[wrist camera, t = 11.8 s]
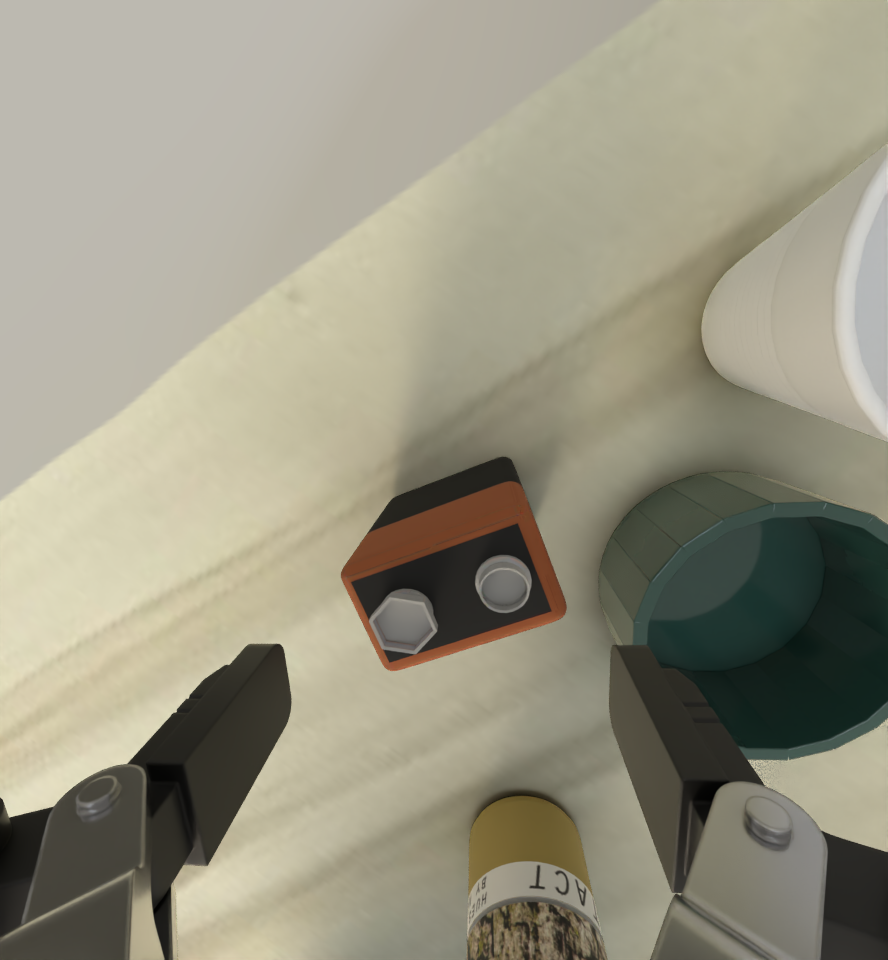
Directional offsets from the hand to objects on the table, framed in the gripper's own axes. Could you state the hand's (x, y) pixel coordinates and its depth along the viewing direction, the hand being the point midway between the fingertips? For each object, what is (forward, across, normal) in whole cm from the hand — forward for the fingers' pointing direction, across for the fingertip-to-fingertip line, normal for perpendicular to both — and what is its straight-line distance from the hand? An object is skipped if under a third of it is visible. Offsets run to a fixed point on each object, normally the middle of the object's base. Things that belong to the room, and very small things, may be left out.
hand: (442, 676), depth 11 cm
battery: (+13, 0, 0) cm, 13 cm away
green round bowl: (+13, -13, +4) cm, 19 cm away
